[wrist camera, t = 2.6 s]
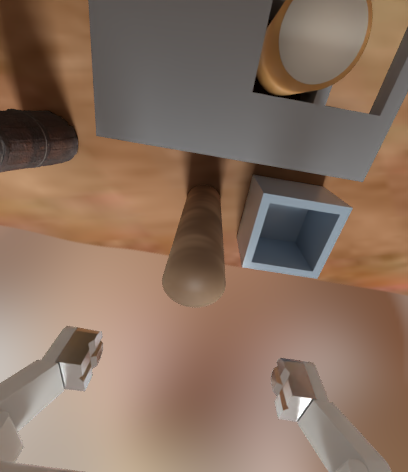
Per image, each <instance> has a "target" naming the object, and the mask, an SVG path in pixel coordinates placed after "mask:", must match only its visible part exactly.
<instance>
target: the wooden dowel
mask: <svg viewBox="0 0 408 472" xmlns="http://www.w3.org/2000/svg"><path fill="white" fill-rule="evenodd" d="M162 285H163V288H164V291H165V292H166V294H167V295H168V296H169V297H170V298H171V299H172V300H173V301H175V302H177V303H178V304H181V305H183V306H187V307H204V306H207V305H210V304H212V303H214V302H216V301H217V300H218V299H219V298H220V297H221V296H222V294H223V293H224V290H225V285H226V281H225V266H224V250H223V234H222V218H221V202H220V196H219V193H218V192H217V191H216V190H215V189H214V188H213V187H211V186H209V185H198V186H195V187H194V188H192V189H191V190H190V192H189V193H188V196H187V199H186V202H185V206H184V209H183V212H182V215H181V219H180V222H179V225H178V228H177V232H176V235H175V238H174V241H173V245H172V248H171V251H170V254H169V258H168V261H167V264H166V268H165V271H164V274H163V278H162Z"/></svg>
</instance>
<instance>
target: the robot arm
mask: <svg viewBox="0 0 408 472" xmlns="http://www.w3.org/2000/svg"><path fill="white" fill-rule="evenodd" d="M101 338H102V332H101V331H94V330H89V329H83V328H78V327H71V326H66V327H65V328H64V329H63V330H62V331H61V333H60V334H59V336H58V337H57V338H56V340H55V341H54V343H53V344H52V345H51V347H50V349H49V350H48V351H47V353H46V354H45V355H44V357H43V358H42V360H36V361H35V362H33V363H32V364H30V365H28V366H27V367H25V368H24V369H22V370H20V371H19V372H17V373H16V374H14V375H13V376H11V377H9V378H8V379H6V380H5V381H3V382H1V383H0V472H83V471H75V470H67V469H60V468H52V467H44V466H37V465H29V464H22V463H15V461H16V460H17V458H18V456H19V454H20V453H21V451H22V449H23V442H22V440H21V438H20V436H19V434H18V431H19V430H20V429H21V428H22V427H24V426H25V425H26V424H27V423H28V422H29V421H30V420H31V419H33V418H34V417H35V416H36V415H37V414H38V413H39V412H40V411H42V410H43V409H44V408H45V407H46V406H47V405H48V404H50V403H51V402H52V401H53V400H54V399H55V398H56V397H57V396H59V395H60V394H61V393H62V392H63V391H64V389H69V390H78V391H85V390H86V388H87V386H88V384H89V382H90V380H91V377H92V369H93V368H94V367H96V366H97V365H98V363H99V360H100V358H101V354H102V351H103V343H102V342H101V341H100V340H101ZM277 365H278V366H277V367H275V368H274V370H273V372H272V376H271V385H272V390H273V392H274V393H275V394H276V396H277V398H276V400H275V405H276V410H277V415H278V419H284V420H289V421H295V422H298V423H297V424H298V425H299V427H300V428H301V430H302V431H303V433H304V434H305V436H306V438H307V439H308V441H309V442H310V444H311V445H312V447H313V448H314V450H315V452H316V453H317V455H318V456H319V458H320V459H321V461H322V462H323V464H324V465H325V467H326V469H327V470H328V472H392V471H391V469H390V467H389V465H388V463H387V462H386V461H385V460H384V458H383V457H382V456H381V455H380V454H379V453H378V452H377V451H376V450H375V449H374V447H373V446H372V445H371V444H370V443H369V442H368V441H367V440H366V439H365V437H364V436H363V435H362V434H361V433H360V432H359V431H358V430H357V429H356V428H355V427H354V425H353V424H352V423H351V422H350V421H349V420H348V419H347V418H346V417H345V415H344V414H343V413H342V412H341V411H340V410H339V409H338V408H337V407H336V406H335V404H334V403H332V402H329V400H328V397H327V394H326V392H325V389H324V387H323V384H322V382H321V379H320V376H319V374H318V371H317V369H316V366H315V365H314V363H311V362H304V361H300V360H292V359H285V358H280V359H278V361H277Z"/></svg>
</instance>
